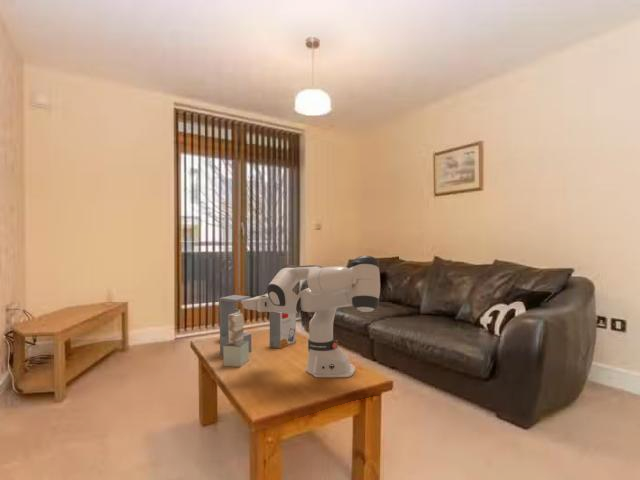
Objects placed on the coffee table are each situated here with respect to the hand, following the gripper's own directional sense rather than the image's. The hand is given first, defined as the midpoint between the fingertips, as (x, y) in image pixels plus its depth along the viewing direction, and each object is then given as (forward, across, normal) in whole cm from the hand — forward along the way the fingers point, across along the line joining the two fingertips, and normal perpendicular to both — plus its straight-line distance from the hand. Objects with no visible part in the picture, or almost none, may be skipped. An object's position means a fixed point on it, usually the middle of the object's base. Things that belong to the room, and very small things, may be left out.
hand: (248, 299), depth 172 cm
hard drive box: (+6, -36, +32) cm, 48 cm away
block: (+8, 0, +22) cm, 24 cm away
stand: (+9, 0, +32) cm, 33 cm away
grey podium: (+20, -12, +32) cm, 39 cm away
